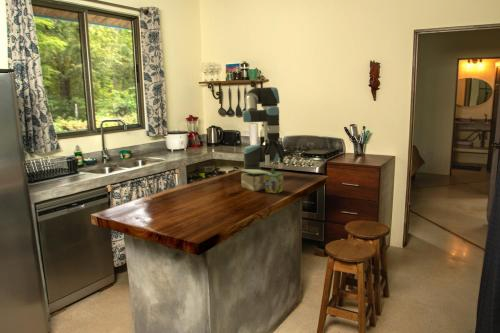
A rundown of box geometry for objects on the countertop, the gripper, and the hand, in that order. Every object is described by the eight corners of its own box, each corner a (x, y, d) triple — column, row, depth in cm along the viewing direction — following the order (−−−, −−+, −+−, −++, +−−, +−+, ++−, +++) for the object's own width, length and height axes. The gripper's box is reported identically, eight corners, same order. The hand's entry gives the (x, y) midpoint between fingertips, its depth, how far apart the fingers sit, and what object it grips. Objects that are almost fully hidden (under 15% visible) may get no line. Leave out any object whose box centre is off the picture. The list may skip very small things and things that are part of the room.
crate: (258, 184, 268) (258, 171, 266) (271, 187, 256) (270, 174, 254) (241, 187, 260) (241, 174, 259) (253, 191, 249) (252, 177, 247)
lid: (259, 170, 266) (259, 169, 266) (271, 173, 255) (271, 172, 255) (241, 170, 258) (241, 169, 258) (253, 173, 247) (253, 172, 247)
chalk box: (278, 194, 241) (277, 170, 238) (264, 192, 245) (264, 169, 242) (284, 190, 249) (283, 167, 246) (270, 189, 253) (270, 166, 250)
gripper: (256, 131, 248) (257, 164, 252) (281, 134, 227) (281, 170, 231) (266, 130, 252) (267, 163, 256) (291, 133, 231) (291, 168, 235)
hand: (274, 166), depth 243 cm, fingers open, 13 cm apart
